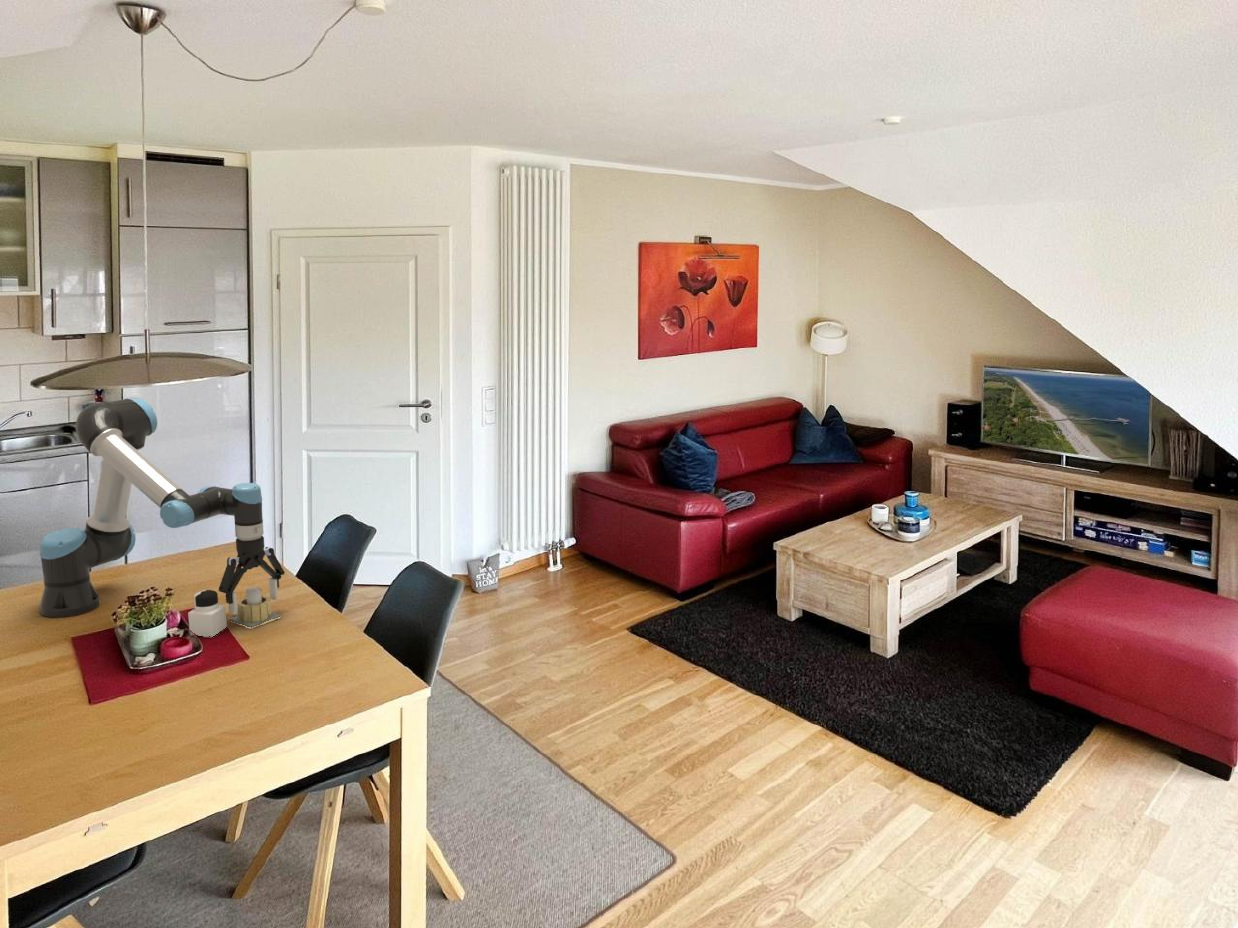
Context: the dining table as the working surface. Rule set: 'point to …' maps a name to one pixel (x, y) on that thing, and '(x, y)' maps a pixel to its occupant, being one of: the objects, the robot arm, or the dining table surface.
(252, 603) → the post stand
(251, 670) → the dining table surface
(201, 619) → the medicine bottle
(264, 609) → the ring
